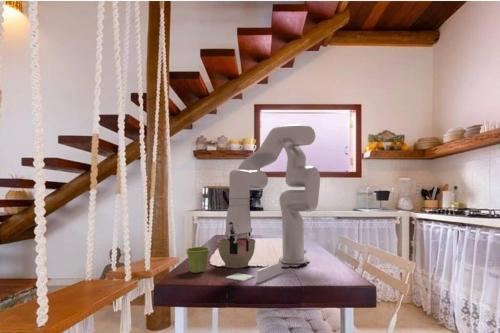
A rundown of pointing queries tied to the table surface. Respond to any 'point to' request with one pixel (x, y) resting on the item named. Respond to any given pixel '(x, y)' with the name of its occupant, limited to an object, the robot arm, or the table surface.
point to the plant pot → (197, 258)
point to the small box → (241, 245)
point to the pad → (240, 277)
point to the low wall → (268, 272)
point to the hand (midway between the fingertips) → (239, 252)
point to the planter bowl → (235, 260)
